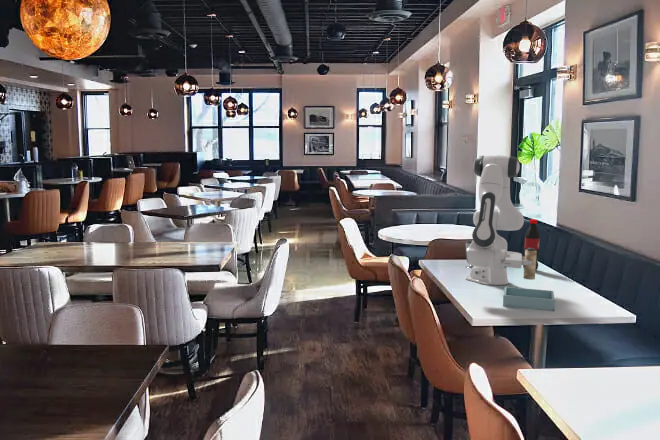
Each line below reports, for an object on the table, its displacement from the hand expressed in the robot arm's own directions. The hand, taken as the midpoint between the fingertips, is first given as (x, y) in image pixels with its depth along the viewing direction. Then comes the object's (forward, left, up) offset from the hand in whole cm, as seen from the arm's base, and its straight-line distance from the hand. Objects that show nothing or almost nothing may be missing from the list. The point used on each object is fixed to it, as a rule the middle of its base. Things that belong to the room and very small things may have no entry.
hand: (532, 261), depth 290 cm
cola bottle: (-37, +72, -20) cm, 84 cm away
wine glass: (-64, +52, -20) cm, 85 cm away
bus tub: (-1, 0, -20) cm, 20 cm away
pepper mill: (-1, 0, -8) cm, 8 cm away
